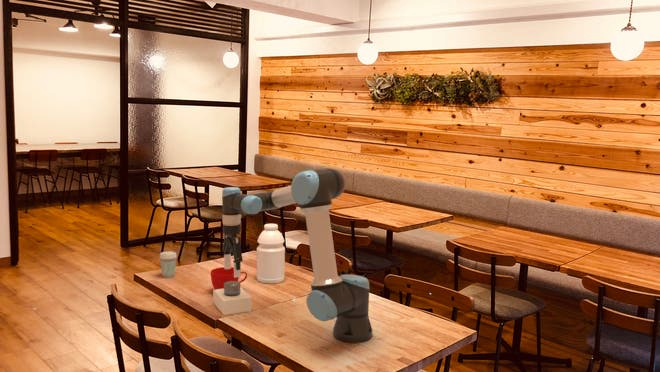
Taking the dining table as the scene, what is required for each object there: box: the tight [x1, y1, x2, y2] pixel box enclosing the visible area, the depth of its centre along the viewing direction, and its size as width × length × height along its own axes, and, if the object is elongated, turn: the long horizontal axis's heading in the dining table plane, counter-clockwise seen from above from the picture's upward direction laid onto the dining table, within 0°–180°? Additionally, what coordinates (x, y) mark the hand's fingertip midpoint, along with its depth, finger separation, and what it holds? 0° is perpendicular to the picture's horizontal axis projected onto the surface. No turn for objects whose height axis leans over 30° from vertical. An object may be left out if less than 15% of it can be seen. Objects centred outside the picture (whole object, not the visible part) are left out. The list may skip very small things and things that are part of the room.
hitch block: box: [212, 286, 252, 316], centre depth 248 cm, size 16×12×6 cm
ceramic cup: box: [210, 266, 248, 290], centre depth 268 cm, size 13×17×10 cm
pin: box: [224, 281, 241, 296], centre depth 248 cm, size 7×7×10 cm
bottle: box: [255, 223, 286, 285], centre depth 286 cm, size 14×14×28 cm
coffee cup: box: [158, 251, 178, 279], centre depth 289 cm, size 8×8×12 cm
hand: (232, 272), depth 246 cm, fingers open, 13 cm apart
